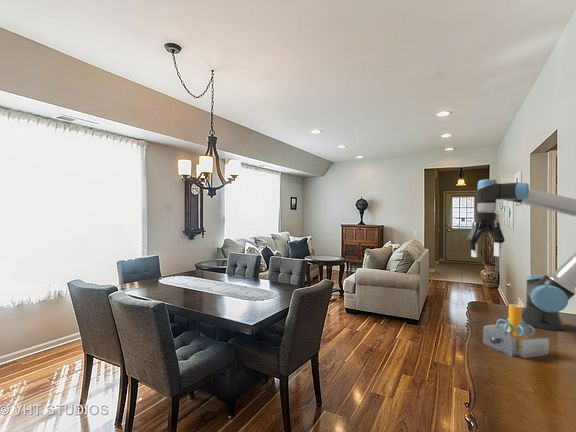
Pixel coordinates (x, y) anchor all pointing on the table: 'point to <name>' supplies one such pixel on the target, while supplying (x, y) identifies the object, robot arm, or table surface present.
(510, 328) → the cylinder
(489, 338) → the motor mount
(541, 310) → the robot arm
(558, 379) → the table surface
